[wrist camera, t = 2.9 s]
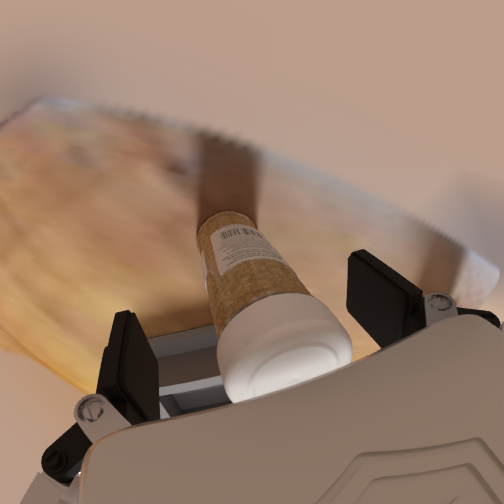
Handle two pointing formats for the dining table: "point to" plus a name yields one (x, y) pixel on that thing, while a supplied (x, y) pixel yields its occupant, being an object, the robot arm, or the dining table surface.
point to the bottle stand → (189, 372)
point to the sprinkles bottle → (263, 313)
